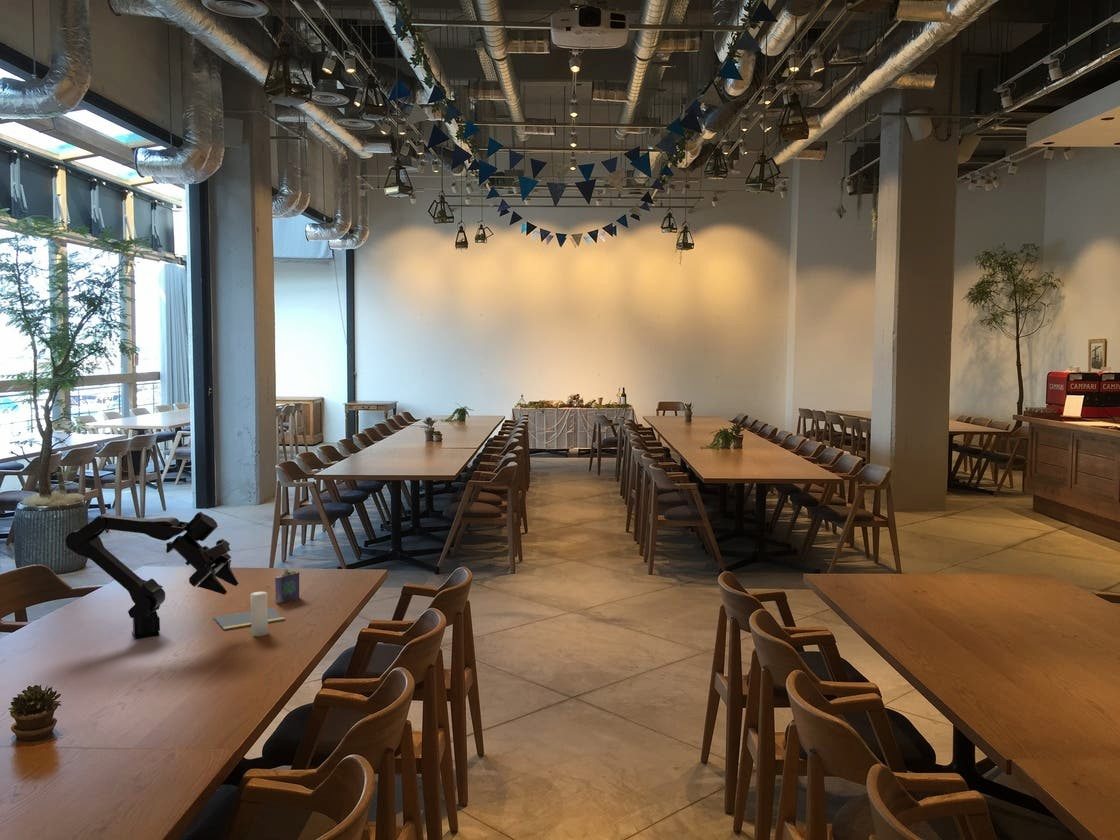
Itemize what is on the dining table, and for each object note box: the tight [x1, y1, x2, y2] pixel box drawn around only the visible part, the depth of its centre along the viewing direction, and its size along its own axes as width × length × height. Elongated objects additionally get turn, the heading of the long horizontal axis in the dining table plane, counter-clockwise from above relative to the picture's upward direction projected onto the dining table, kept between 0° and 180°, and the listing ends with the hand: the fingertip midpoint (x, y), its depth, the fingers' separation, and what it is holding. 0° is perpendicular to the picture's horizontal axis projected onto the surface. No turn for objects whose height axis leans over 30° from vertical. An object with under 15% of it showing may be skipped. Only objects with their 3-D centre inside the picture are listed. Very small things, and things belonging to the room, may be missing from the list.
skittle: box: [250, 591, 269, 637], centre depth 255 cm, size 5×5×12 cm
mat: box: [213, 607, 286, 631], centre depth 269 cm, size 18×14×1 cm
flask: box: [274, 568, 300, 605], centre depth 289 cm, size 9×3×11 cm, turn 146°
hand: (231, 589), depth 254 cm, fingers open, 9 cm apart
